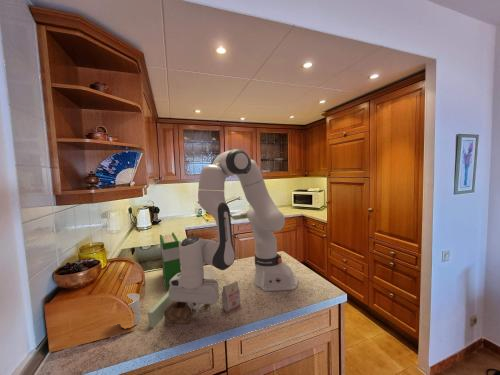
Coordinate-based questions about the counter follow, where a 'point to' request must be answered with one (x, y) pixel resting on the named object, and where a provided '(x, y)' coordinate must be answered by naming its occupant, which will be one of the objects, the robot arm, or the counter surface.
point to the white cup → (135, 306)
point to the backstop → (158, 310)
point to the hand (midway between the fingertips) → (195, 311)
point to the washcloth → (210, 274)
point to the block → (178, 312)
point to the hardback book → (170, 257)
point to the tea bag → (231, 296)
